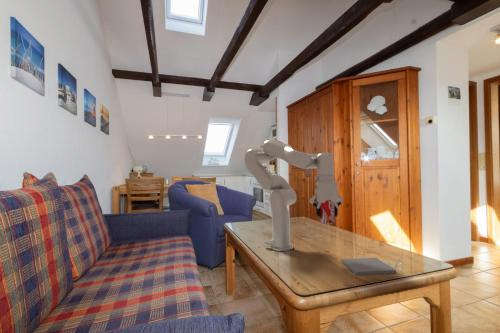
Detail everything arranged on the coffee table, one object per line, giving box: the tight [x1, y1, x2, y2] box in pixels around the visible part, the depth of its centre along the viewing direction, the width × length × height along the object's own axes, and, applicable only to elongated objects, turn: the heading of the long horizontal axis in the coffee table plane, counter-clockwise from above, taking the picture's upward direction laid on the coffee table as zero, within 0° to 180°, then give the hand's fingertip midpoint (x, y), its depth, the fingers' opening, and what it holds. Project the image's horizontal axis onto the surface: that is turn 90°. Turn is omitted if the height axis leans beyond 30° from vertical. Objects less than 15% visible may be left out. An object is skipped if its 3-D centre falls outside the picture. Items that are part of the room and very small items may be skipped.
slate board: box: [341, 257, 397, 276], centre depth 103 cm, size 16×14×1 cm
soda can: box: [318, 198, 336, 225], centre depth 115 cm, size 7×7×12 cm
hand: (327, 216), depth 115 cm, fingers closed on soda can, 7 cm apart
